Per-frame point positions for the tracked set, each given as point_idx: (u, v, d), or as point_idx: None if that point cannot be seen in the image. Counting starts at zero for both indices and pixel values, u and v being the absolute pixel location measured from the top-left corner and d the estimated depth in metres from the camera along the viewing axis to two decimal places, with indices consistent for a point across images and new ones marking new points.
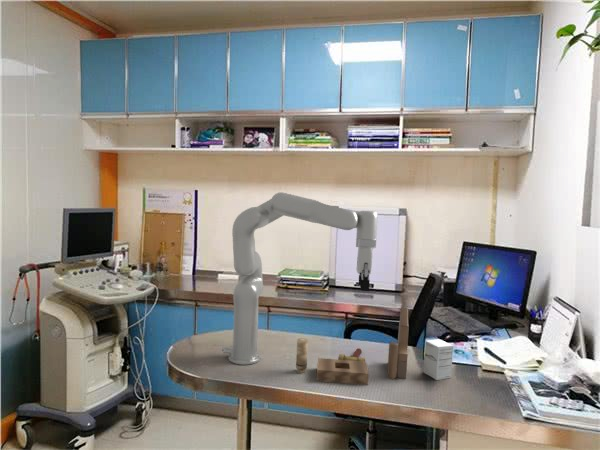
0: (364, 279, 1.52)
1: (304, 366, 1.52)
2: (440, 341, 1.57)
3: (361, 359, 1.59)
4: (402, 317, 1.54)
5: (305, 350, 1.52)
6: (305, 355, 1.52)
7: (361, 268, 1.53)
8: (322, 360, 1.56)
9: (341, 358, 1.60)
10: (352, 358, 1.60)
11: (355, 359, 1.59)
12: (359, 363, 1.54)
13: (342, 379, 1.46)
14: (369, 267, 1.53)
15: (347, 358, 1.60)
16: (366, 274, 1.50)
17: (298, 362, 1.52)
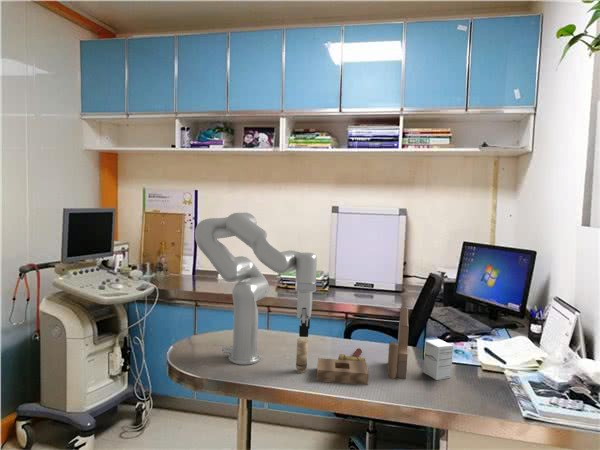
0: (302, 325, 1.47)
1: (304, 366, 1.52)
2: (440, 341, 1.57)
3: (361, 359, 1.59)
4: (402, 317, 1.54)
5: (305, 350, 1.52)
6: (305, 355, 1.52)
7: (299, 313, 1.48)
8: (322, 360, 1.56)
9: (341, 358, 1.61)
10: (352, 358, 1.60)
11: (355, 359, 1.60)
12: (359, 363, 1.54)
13: (342, 379, 1.46)
14: (307, 312, 1.48)
15: (347, 358, 1.61)
16: (303, 320, 1.45)
17: (298, 362, 1.52)
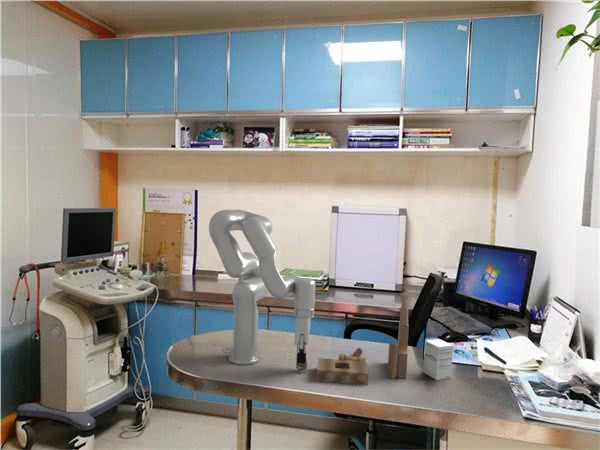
0: (300, 352, 1.50)
1: (304, 366, 1.52)
2: (440, 341, 1.57)
3: (361, 359, 1.59)
4: (402, 317, 1.54)
5: None
6: None
7: None
8: (322, 360, 1.56)
9: (341, 358, 1.61)
10: (352, 358, 1.60)
11: (355, 359, 1.60)
12: (359, 363, 1.54)
13: (342, 379, 1.46)
14: (305, 339, 1.48)
15: (347, 358, 1.61)
16: (301, 350, 1.48)
17: None
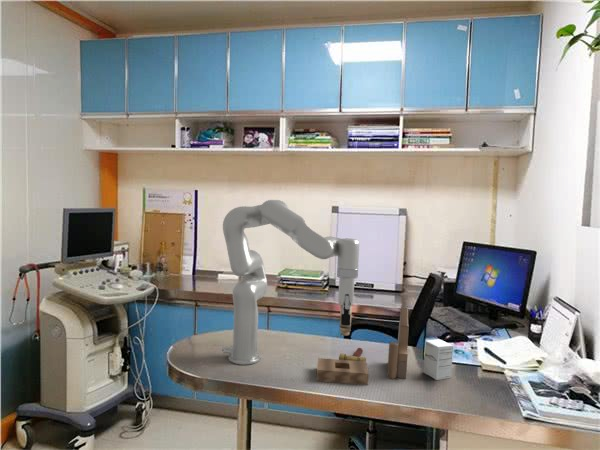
0: (345, 313, 1.47)
1: (348, 328, 1.49)
2: (440, 341, 1.57)
3: (362, 358, 1.59)
4: (402, 317, 1.54)
5: None
6: None
7: None
8: (322, 360, 1.56)
9: (342, 357, 1.61)
10: (353, 357, 1.61)
11: (356, 358, 1.60)
12: (359, 363, 1.54)
13: (342, 379, 1.46)
14: (350, 299, 1.45)
15: (348, 357, 1.61)
16: (346, 310, 1.45)
17: None
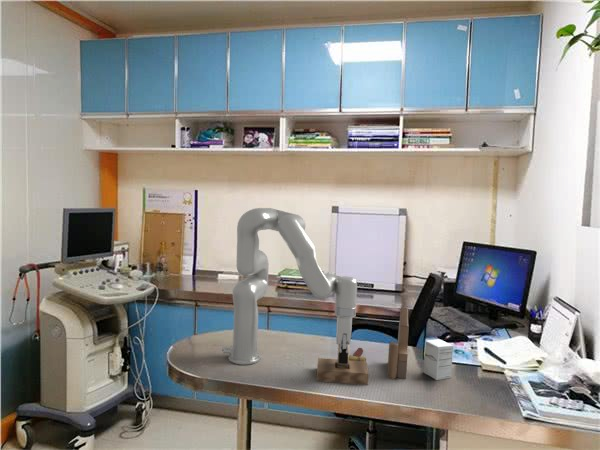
0: (342, 352, 1.47)
1: (346, 366, 1.50)
2: (440, 341, 1.57)
3: (362, 358, 1.60)
4: (402, 317, 1.54)
5: None
6: None
7: (339, 343, 1.47)
8: (322, 360, 1.56)
9: None
10: (353, 357, 1.61)
11: (356, 358, 1.60)
12: (359, 363, 1.54)
13: (342, 379, 1.46)
14: (348, 338, 1.46)
15: None
16: (344, 349, 1.45)
17: None
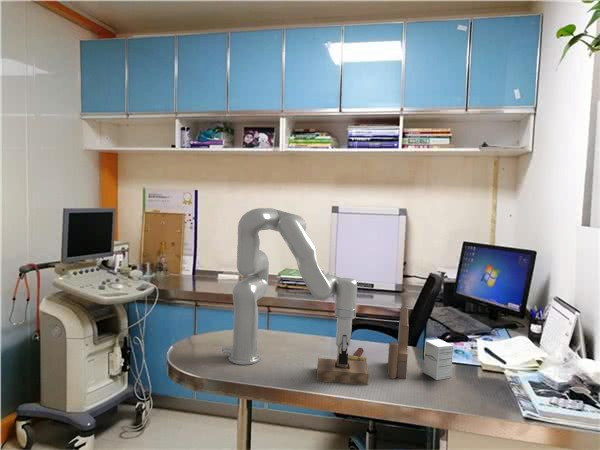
0: (342, 353, 1.45)
1: (345, 368, 1.50)
2: (440, 341, 1.57)
3: (362, 358, 1.60)
4: (402, 317, 1.54)
5: None
6: None
7: (339, 341, 1.46)
8: (322, 360, 1.56)
9: None
10: (353, 357, 1.61)
11: (356, 358, 1.61)
12: (359, 363, 1.54)
13: (342, 379, 1.46)
14: (348, 339, 1.46)
15: (348, 357, 1.61)
16: (344, 349, 1.43)
17: (339, 364, 1.50)
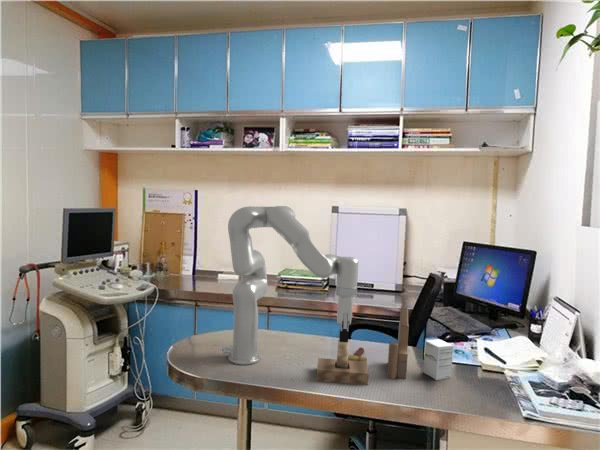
0: (343, 330, 1.49)
1: (345, 368, 1.50)
2: (440, 341, 1.57)
3: (362, 358, 1.60)
4: (402, 317, 1.54)
5: (346, 352, 1.50)
6: (346, 357, 1.50)
7: (340, 323, 1.47)
8: (322, 360, 1.56)
9: None
10: (353, 357, 1.61)
11: (356, 358, 1.61)
12: (359, 363, 1.54)
13: (342, 379, 1.46)
14: (349, 318, 1.45)
15: (348, 357, 1.62)
16: (345, 328, 1.47)
17: (339, 364, 1.50)
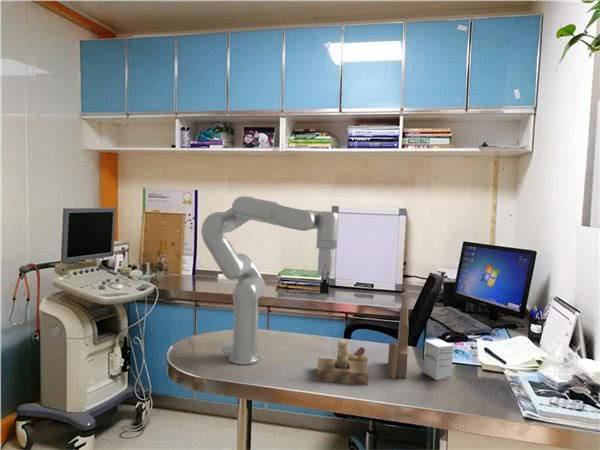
0: (323, 282, 1.54)
1: (345, 368, 1.50)
2: (440, 341, 1.57)
3: (363, 357, 1.60)
4: (402, 317, 1.54)
5: (346, 352, 1.50)
6: (346, 357, 1.50)
7: None
8: (322, 360, 1.56)
9: None
10: (354, 356, 1.62)
11: (357, 357, 1.61)
12: (359, 363, 1.54)
13: (342, 379, 1.46)
14: (328, 269, 1.50)
15: (349, 356, 1.62)
16: (324, 279, 1.52)
17: (339, 364, 1.50)
